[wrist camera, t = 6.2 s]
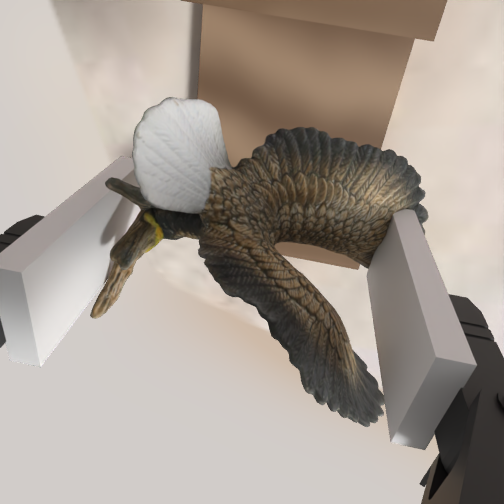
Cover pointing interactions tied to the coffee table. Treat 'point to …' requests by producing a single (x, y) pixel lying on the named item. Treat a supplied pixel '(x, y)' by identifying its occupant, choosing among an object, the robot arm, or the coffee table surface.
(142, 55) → the coffee table surface
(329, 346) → the eagle figurine
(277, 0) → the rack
